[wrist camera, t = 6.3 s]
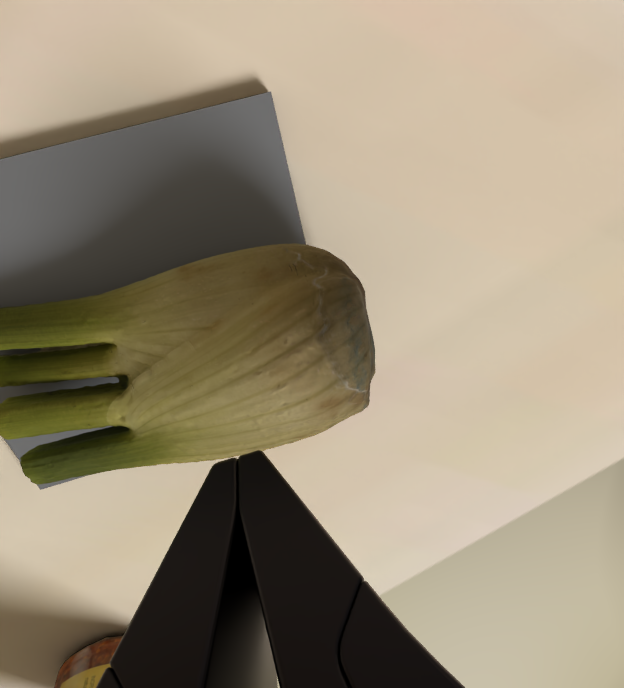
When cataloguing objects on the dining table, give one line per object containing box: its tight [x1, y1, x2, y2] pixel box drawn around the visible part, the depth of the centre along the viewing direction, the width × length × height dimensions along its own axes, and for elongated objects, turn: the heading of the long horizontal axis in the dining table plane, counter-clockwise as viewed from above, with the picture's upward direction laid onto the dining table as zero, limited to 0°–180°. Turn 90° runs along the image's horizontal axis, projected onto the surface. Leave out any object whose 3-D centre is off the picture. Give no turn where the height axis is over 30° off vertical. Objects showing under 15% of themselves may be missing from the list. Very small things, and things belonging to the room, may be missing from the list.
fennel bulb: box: [0, 243, 375, 485], centre depth 14 cm, size 6×5×12 cm
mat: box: [0, 92, 306, 490], centre depth 15 cm, size 12×11×1 cm
